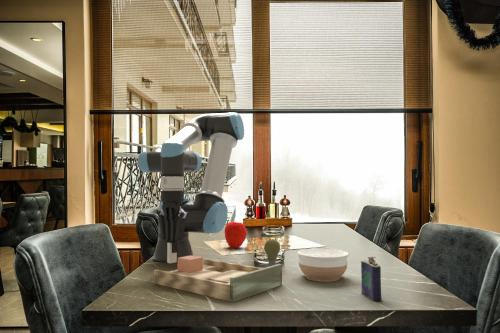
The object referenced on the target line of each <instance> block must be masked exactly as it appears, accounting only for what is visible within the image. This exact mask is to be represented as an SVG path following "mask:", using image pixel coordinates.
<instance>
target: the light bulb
mask: <svg viewBox="0 0 500 333" xmlns="http://www.w3.org/2000/svg"><path fill="white" fill-rule="evenodd" d="M263 247H264V248H263V249H264V252H265V253H266V257H267V261H268V267H269V266H273V265H277V263H276V262H277V258H278V255H279V253H280V251H281V245H280V242H279V241H278V240H277V239H274V238H270V239H267V240H266V241H265V243H264V245H263Z"/></svg>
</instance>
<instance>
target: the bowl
mask: <svg viewBox="0 0 500 333" xmlns="http://www.w3.org/2000/svg"><path fill="white" fill-rule="evenodd" d="M297 255H298V267H299V269H300V271H301V272H302V273H303V275H305V278H306V279H307V280H310V281H314V282H323V283H324V282H326V283H327V282H335V281H339V280H340V279H341V277H342V276H343V275H344V274H345V272H346V270H347V269H348V257H349V255H350V254H349V252H347V251H345V250H341V249H335V248H321V247H319V248H305V249H300V250H298V251H297Z"/></svg>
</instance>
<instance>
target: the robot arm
mask: <svg viewBox="0 0 500 333" xmlns="http://www.w3.org/2000/svg"><path fill="white" fill-rule="evenodd" d="M244 137H245V127H244V121H243V118H242V116H241V115H240V113H238V112H230V111H229V112H220V113H204V114H201V115H199V116H196V117H194V118H192V119H191V120H189V121H186V123H184V124H183V125H182V126H181V129H180V130H179V131H177V132H176V133H175V134H173V135H172V136H171V137H169V138H168V139H166V140H165V141H164V142H163V143H161V144H160V145H158V146H157V147H156V148H154V149H152V150H151V151H150V150H149V151H148V150H146V151H141V152H140V153H139V154H138V156H137V165H138V166H137V167H138V169H139V170H140V171H141V172H143V173H160V189H161V191H160V202H159V203H158V208H157V209H158V210H156V214H157V217H158V218H157V220H158V221H157V222H158V224H157V226H158V227H157V229H158V231H157V232H158V236H157V237H158V238H157V239H158V240H157V242H156V245H155V249H154V250H155V251H154V252H153V260H154V261H156V262H162V263H167V264H175V263H178V258H180V257H185V256H190V255H191V256H194V251H193V250H192V246H191V242H190V238H189V236H190V235H189V233H197V234H199V233H201V234H218V233H220V232H221V231H222V230H223V229H225V227H226V225H227V221H228V217H229V216H228V206H227V205H226V203H225V199H224V198H223V194H224V187H225V184H226V183H225V182H226V177H227V173H228V170H229V169H228V168H229V166H230V160H231V155H232V152H233V151H232V150H233V148H235V147H237V145H238V140H239V141H241V140H243V139H244ZM204 141H205V142H207V141H210V143H211V145H210V146H211V147H210V151H209V156H208V159H207V163H206V168H205V171H204V175H203V178H202V184H201V187H200V192H198V193H196V194H195V197H194V200H193V201H190V200H189V198H188V197H185V191H184V190H183V189H185V173H195V172H197V171H198V170H199V169H200V168H201V166H202V162H203V160H202V157H201V156H200V154H199V153H198V152H196V151H193V150H188V149H189V148H190V147H192V146H193V145H197V144H199V143H200V142H204Z"/></svg>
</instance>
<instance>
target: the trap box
mask: <svg viewBox="0 0 500 333" xmlns="http://www.w3.org/2000/svg"><path fill="white" fill-rule="evenodd" d="M153 284H156V285H160V286H163V287H167V288H172V289H176V290H180V291H184V292H185V291H186V292H190V293H194V294H197V295H202V296H206V297H210V298H214V299H217V300H218V299H220V300H223V301H227V302H232V303H235V302H238V301H241V300H243V299H246V298H248V297H252V296H254V295H257V294H260V293H263V292H267V291H269V290H272V289H274V288H277V287H281V286H282V285H283V264H281V263H276V265H273V266H269V265H268V266H267V267H266V266H265V267H257V266H251V265H245V264H240V263H239V264H238V263H235V262H234V263H233V262H227V261H222V260H215V259H208V258H203V270H201V271H197V272H193V273H186V272H181V271H178V269H174V270H170V271H169V270H168V271H166V270H162V269H153Z"/></svg>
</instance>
